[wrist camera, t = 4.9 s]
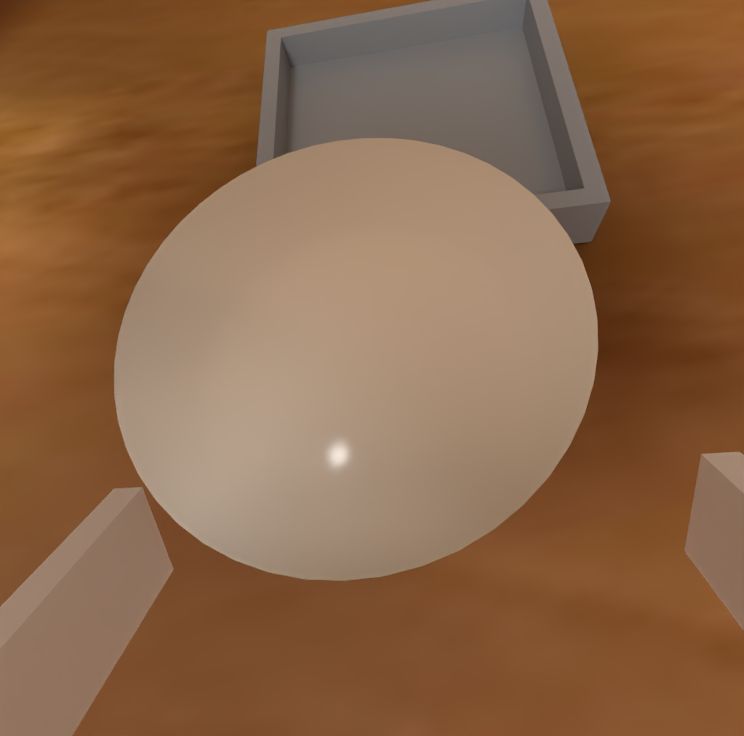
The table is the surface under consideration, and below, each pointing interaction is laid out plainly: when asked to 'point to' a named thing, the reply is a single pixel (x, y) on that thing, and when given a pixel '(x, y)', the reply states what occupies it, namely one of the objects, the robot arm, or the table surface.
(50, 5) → the table surface
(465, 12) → the slate tray
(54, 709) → the robot arm
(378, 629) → the table surface
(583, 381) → the white pitcher
